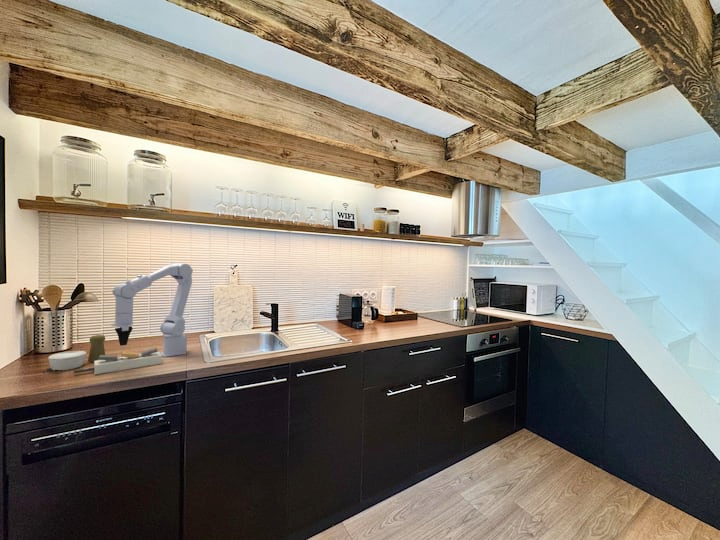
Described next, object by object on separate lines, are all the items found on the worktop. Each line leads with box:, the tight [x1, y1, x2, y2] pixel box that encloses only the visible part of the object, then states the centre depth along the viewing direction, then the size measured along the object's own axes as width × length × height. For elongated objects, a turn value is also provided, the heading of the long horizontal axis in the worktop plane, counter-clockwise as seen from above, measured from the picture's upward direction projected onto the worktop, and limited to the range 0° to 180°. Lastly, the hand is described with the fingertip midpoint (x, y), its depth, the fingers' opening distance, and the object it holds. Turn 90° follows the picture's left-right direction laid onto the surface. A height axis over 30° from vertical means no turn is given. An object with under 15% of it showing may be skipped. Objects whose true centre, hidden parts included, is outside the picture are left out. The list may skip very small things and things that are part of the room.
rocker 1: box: [99, 354, 118, 360], centre depth 119 cm, size 6×3×1 cm, turn 133°
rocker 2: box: [140, 347, 159, 357], centre depth 129 cm, size 6×3×1 cm, turn 132°
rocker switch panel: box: [73, 351, 163, 375], centre depth 122 cm, size 28×7×4 cm, turn 133°
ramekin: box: [47, 350, 87, 372], centre depth 121 cm, size 11×11×5 cm
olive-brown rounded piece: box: [87, 334, 106, 363], centre depth 130 cm, size 6×6×11 cm
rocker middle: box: [120, 351, 140, 357], centre depth 124 cm, size 6×3×1 cm, turn 133°
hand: (123, 344), depth 122 cm, fingers closed
